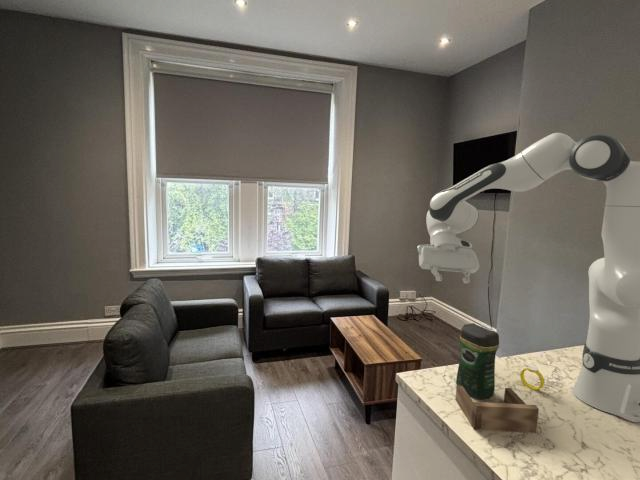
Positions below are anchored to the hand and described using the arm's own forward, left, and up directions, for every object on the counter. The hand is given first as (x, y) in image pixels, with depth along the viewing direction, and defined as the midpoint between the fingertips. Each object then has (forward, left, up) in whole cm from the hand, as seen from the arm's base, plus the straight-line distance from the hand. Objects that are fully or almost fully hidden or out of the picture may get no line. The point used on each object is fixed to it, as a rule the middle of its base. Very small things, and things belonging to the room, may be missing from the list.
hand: (453, 281), depth 111 cm
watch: (-19, +16, -27) cm, 36 cm away
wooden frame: (-1, +29, -27) cm, 39 cm away
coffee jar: (-1, +19, -27) cm, 33 cm away
